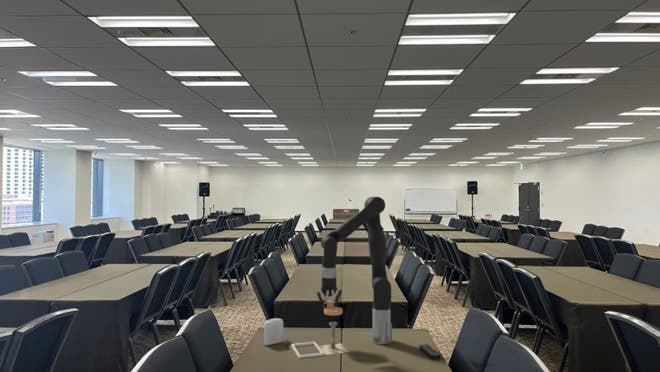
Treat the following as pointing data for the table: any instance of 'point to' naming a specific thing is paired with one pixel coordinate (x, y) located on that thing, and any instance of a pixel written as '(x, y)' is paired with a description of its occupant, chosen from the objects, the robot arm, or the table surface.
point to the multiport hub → (429, 352)
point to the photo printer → (273, 331)
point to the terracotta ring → (332, 309)
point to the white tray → (307, 354)
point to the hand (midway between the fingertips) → (329, 310)
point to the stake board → (334, 351)
